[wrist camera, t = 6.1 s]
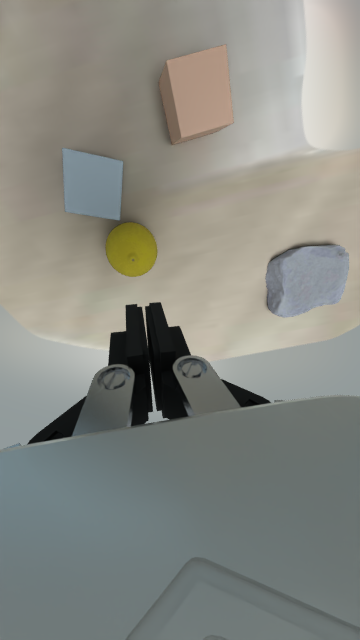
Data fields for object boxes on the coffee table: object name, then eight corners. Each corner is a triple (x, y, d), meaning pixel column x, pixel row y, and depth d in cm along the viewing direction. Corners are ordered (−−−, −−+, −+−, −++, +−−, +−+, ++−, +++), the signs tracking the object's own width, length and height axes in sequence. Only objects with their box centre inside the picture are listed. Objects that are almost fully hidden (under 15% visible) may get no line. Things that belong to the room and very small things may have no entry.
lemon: (98, 243, 29) (90, 262, 22) (127, 207, 28) (128, 215, 21) (134, 272, 32) (137, 297, 25) (162, 240, 30) (173, 257, 23)
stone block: (258, 254, 36) (265, 315, 40) (276, 256, 32) (282, 324, 35) (327, 235, 37) (328, 295, 41) (354, 234, 33) (353, 301, 36)
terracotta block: (158, 83, 23) (166, 60, 19) (207, 69, 23) (226, 44, 19) (171, 145, 26) (181, 137, 21) (215, 132, 26) (233, 122, 22)
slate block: (72, 153, 24) (62, 147, 20) (123, 164, 26) (123, 161, 21) (74, 207, 27) (64, 211, 22) (120, 214, 28) (119, 220, 24)
